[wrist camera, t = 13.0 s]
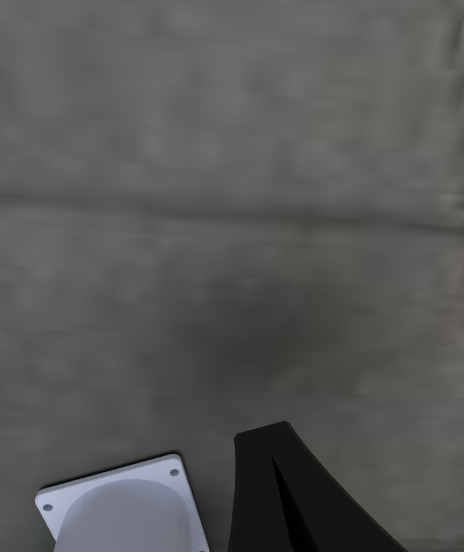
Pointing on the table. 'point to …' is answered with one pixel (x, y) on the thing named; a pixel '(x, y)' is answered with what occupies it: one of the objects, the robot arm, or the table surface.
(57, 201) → the table surface
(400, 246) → the table surface
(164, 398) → the table surface
